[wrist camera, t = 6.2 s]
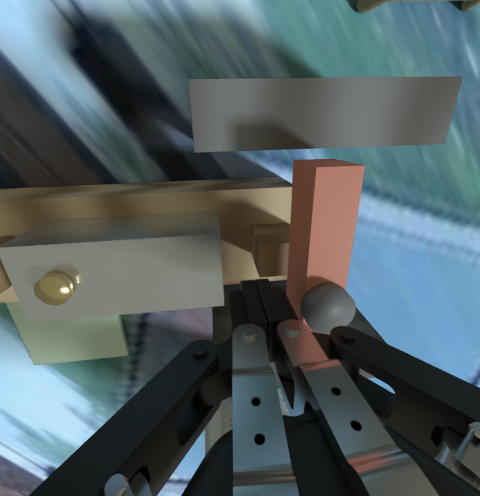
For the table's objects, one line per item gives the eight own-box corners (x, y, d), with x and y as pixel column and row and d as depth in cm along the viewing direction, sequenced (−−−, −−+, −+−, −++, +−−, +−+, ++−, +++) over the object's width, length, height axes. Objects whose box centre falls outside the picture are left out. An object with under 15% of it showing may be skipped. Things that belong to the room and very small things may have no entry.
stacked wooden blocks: (351, 101, 22) (462, 76, 13) (326, 298, 30) (382, 376, 21) (-33, 108, 20) (-271, 83, 10) (51, 322, 28) (-34, 425, 18)
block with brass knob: (217, 210, 20) (220, 238, 14) (221, 269, 22) (225, 313, 16) (47, 219, 19) (-16, 254, 13) (68, 280, 21) (19, 331, 15)
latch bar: (336, 158, 13) (382, 167, 10) (313, 353, 18) (338, 404, 15) (289, 160, 13) (319, 170, 9) (280, 357, 18) (297, 410, 15)
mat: (110, 276, 26) (108, 279, 26) (129, 351, 30) (128, 355, 30) (2, 284, 25) (-2, 287, 25) (37, 360, 29) (34, 365, 29)
